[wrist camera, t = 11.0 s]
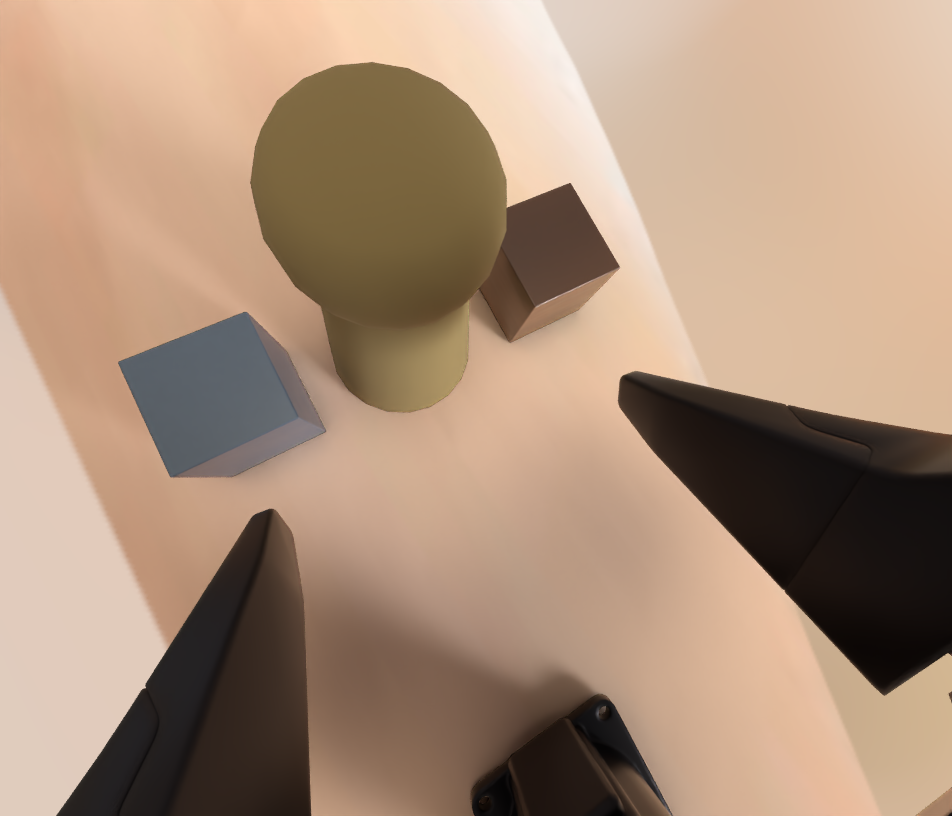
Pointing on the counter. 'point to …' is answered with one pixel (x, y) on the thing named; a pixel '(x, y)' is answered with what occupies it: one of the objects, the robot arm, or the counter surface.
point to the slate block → (221, 399)
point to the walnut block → (546, 263)
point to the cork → (383, 222)
